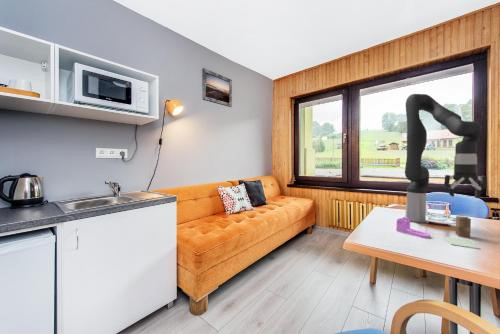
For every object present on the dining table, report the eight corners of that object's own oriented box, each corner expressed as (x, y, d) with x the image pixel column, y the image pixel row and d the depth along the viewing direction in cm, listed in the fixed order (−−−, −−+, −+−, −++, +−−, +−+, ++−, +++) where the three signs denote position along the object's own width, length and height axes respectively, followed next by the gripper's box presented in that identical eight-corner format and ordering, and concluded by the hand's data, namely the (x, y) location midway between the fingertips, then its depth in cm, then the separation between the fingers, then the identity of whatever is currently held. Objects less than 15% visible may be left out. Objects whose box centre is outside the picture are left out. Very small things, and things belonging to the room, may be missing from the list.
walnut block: (458, 236, 100) (459, 217, 100) (455, 233, 103) (456, 216, 103) (470, 238, 98) (470, 219, 98) (466, 235, 101) (467, 217, 101)
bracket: (396, 231, 108) (396, 217, 108) (401, 229, 111) (402, 216, 110) (427, 239, 97) (427, 224, 96) (432, 237, 100) (433, 222, 99)
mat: (450, 244, 90) (451, 243, 90) (443, 237, 99) (443, 236, 99) (480, 249, 86) (480, 248, 86) (470, 240, 94) (470, 240, 94)
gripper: (448, 163, 100) (447, 197, 100) (490, 163, 93) (489, 199, 93) (443, 163, 106) (442, 194, 107) (482, 163, 99) (481, 197, 100)
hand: (464, 197), depth 100 cm, fingers open, 8 cm apart
